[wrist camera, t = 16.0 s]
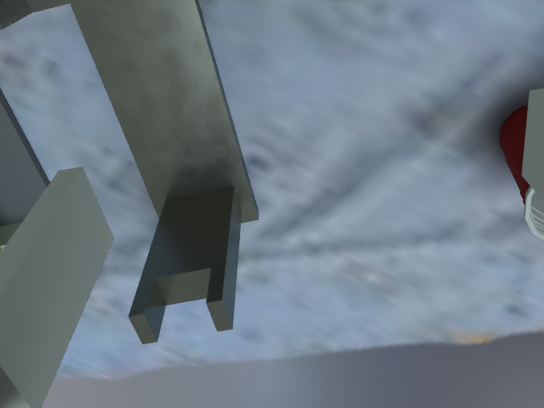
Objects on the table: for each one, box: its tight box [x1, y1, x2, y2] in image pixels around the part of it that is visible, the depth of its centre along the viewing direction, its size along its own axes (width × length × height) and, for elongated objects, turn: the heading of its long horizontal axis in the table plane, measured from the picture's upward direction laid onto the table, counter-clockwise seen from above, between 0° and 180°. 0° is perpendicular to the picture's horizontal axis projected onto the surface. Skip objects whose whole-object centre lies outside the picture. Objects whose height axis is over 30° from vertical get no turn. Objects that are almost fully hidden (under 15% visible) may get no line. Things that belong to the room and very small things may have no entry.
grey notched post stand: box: [0, 0, 259, 344], centre depth 40 cm, size 30×10×18 cm, turn 13°
